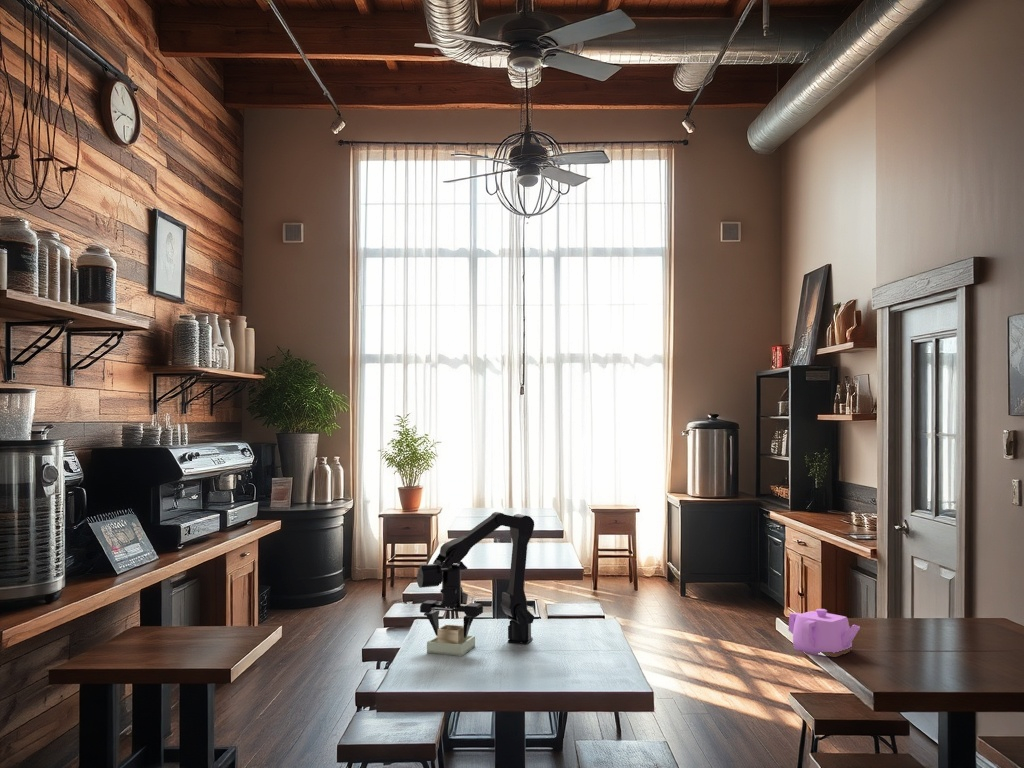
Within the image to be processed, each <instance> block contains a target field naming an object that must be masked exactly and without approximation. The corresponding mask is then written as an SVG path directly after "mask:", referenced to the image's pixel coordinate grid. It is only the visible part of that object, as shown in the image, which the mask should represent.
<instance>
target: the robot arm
mask: <svg viewBox="0 0 1024 768" xmlns="http://www.w3.org/2000/svg"><path fill="white" fill-rule="evenodd" d="M502 526H503V527H508V528H509V532H510V536H511V540H512V547H511V548H512V551H511V561H510V571H509V583H508V588H507V590H506V592H504V591H503V592H501V602H500V605H499V606H501V609H502V612H504V614H505V615H506V616H507V619H508V620H509V625H508V626H507V639H508V640H507V643H510V644H511V643H515V644H523V645H524V644H525V645H527V644H529V643H530V642H531V641H532V640H533V637H532V624H533V623H534V619H535V615H534V614H533V613H532V612H530V611H529V610H528V601H527V597H526V592H525V579H526V578H525V576H526V567H527V565H526V564H527V556H528V555H527V554H528V545H529V542H530V541H531V538H532V536H533V533H534V530H535V529H534V528H535V521H534V519H533V518H532V517H531V516H530V515H525V514H522V513H521V514H520V513H516V514H514V515H509V514H505V513H503V512H499V511H495V512H492V513H491V515H489V516H488V517H487V518H485V519H483V521H481V522H479V523H478V524H477V525H476V526H475V527H473V528H471V529H470V530H469V531H467V532H466V533H464V535H461V536H459V537H456V538H453V539H451V540H450V541H447V542H444V543H443V544H442V545H440V549H439V553H438V555H437V556H436V558H435V559H434V561H433V563H429V564H425V563H422V564H421V563H420V564H419V568H418V570H417V574H416V581H417V585H418V587H419V588H421V589H423V588H433V587H439V586H440V584H441V589H440V594H441V602H439V600H434V599H433V600H432V599H431V600H430V599H427V600H425V601H424V602H421V603H420V606H419V612H420V613H421V614H423V616H424V617H425V616H426V618H427V619H428V621H429V623H430V625H431V628H432V629H433V632H434V635H435V637H436V636H438V629H439V628H440V625H439V616H440V611H442V612H443V611H444V612H456V613H457V612H459V613H464V614H465V615H464V616H463V626H464V638H467V635H469V632H470V629H471V625H472V623H473V622H474V619H475V618H477V617H479V616H481V615H482V614H483V613H484V605H482V603H478V602H477V603H475V602H469V603H468V599H469V598H468V597H469V594H468V593H466V592H464V590H463V587H462V584H461V583H462V570H463V571H466V570H468V567H467V566H466V564H464V562H463V561H462V560H463V559H465V557H466V556H467V555H468V553H469V552H470V551H471V549H472V548H473V547H474V546H476V544H478V543H479V542H481V541H482V540H484V539H485V538H486V537H487V536H489V535H490V534H492V533H493V532H494V531H496V530H498V528H500V527H502Z"/></svg>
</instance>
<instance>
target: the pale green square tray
mask: <svg viewBox="0 0 1024 768" xmlns="http://www.w3.org/2000/svg"><path fill="white" fill-rule="evenodd" d="M475 647H476V635H469V634H468V635H467V638H465V642H463V643H462V644H450V643H438V636H436V635H435V636H434V637H433V638H432V639H430V640H428V641H426V653H427V654H435V655H445V656H456V657H462V656H463V655H466V653H468V652H469V651H471V650H472V649H474V648H475Z"/></svg>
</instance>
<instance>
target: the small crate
mask: <svg viewBox="0 0 1024 768" xmlns="http://www.w3.org/2000/svg"><path fill="white" fill-rule="evenodd" d="M463 642H465V638H464V625H458V624H457V625H454V624H444V625H442V626H441V627H439V629H438V643H450V644H462V643H463Z"/></svg>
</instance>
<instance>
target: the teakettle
mask: <svg viewBox="0 0 1024 768" xmlns="http://www.w3.org/2000/svg"><path fill="white" fill-rule="evenodd" d="M860 629H861V626H860V625H856V624H852V625H851V626H850V623H849V620H848V617H847V616H844V615H839V614H835V613H830V612H828V610H827V609H825V608H816V609H815V610H811V611H806V612H803V613H800V612H791V613H789V617H788V631H789V632H790V633H791V634H792V645H793V647H794V650H796V651H798V652H802V653H805V652H806V653H805V654H810V655H815V656H819V655H818V653H820V652H833V653H835V652H839V651H842V650H845V649H848V648H850V647H852V646H853V640H854V638H855V637H856V635H857V633H858V632H859V630H860ZM852 648H853V647H852Z"/></svg>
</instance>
